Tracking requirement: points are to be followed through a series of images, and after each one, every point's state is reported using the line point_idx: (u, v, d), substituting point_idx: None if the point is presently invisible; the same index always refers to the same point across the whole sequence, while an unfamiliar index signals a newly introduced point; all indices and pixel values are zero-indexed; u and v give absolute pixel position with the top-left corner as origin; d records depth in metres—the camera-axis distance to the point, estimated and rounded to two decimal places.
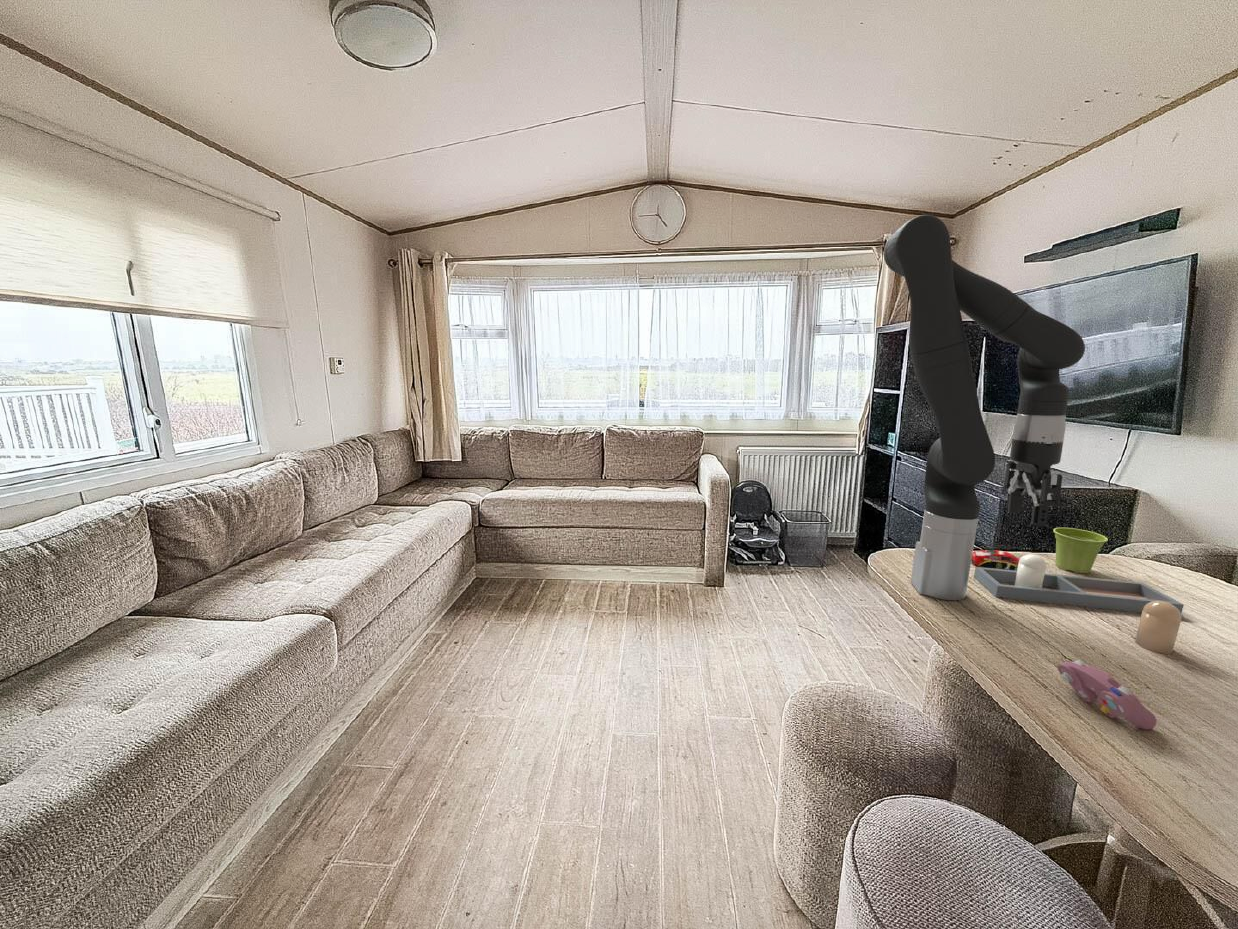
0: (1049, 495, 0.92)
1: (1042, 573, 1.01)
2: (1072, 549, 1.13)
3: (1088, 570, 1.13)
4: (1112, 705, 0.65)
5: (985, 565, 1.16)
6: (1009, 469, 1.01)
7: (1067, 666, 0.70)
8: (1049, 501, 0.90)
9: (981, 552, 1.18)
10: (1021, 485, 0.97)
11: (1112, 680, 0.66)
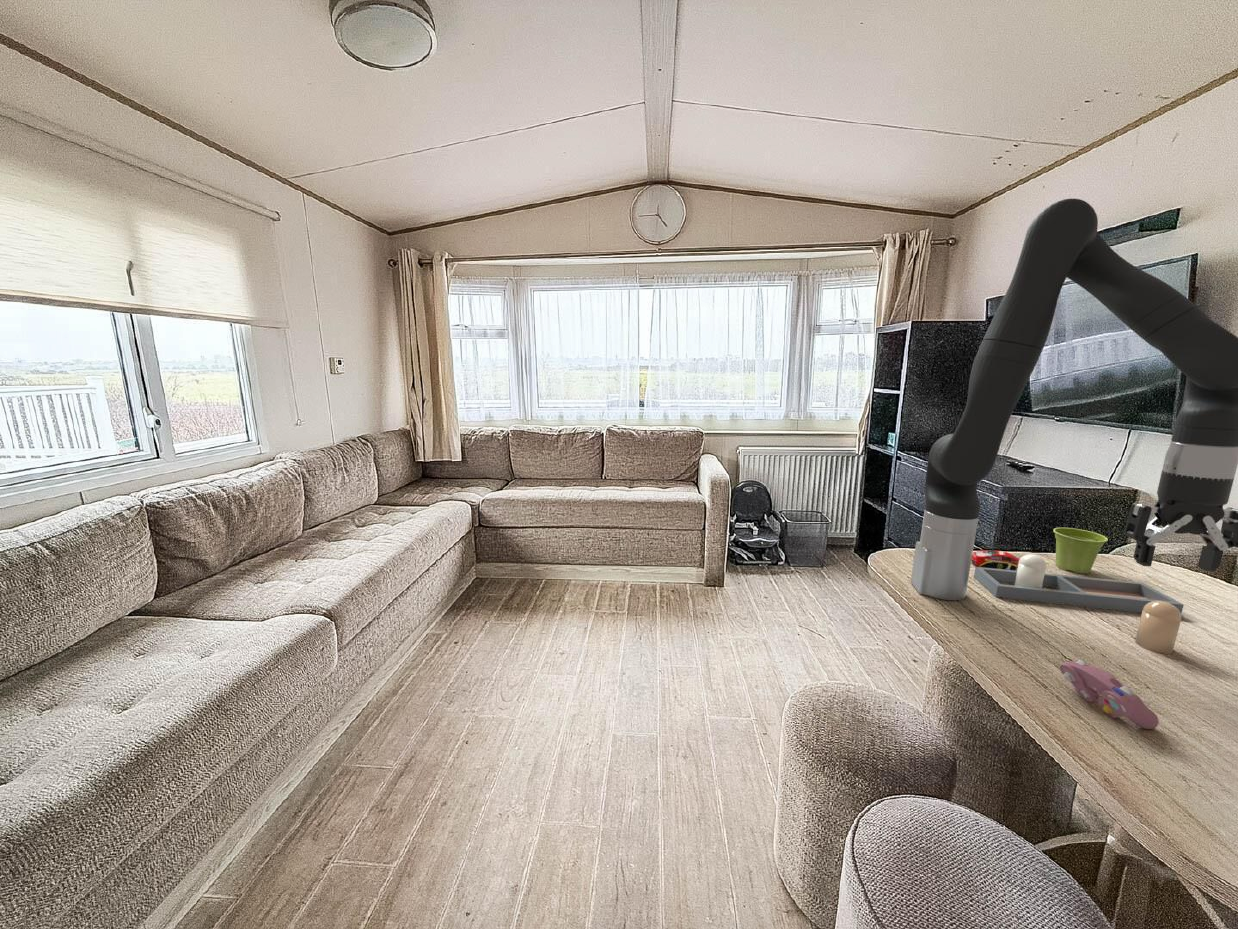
0: None
1: (1042, 573, 1.01)
2: (1072, 549, 1.13)
3: (1088, 570, 1.13)
4: (1114, 705, 0.65)
5: (986, 566, 1.15)
6: (1149, 516, 0.79)
7: (1069, 666, 0.70)
8: None
9: (981, 553, 1.17)
10: (1181, 531, 0.79)
11: (1114, 680, 0.66)
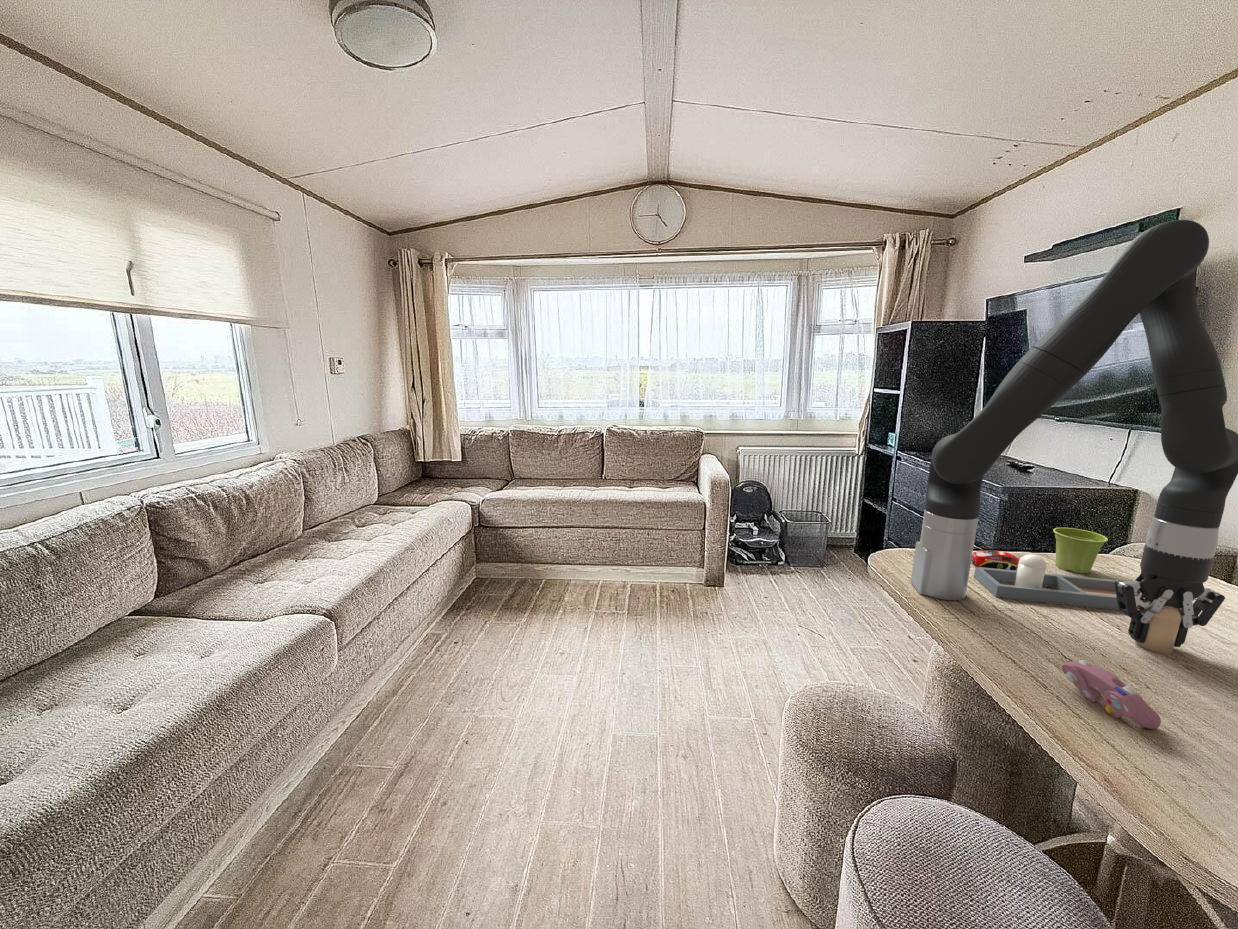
0: None
1: (1042, 573, 1.01)
2: (1072, 549, 1.13)
3: (1088, 570, 1.13)
4: (1117, 705, 0.65)
5: (986, 566, 1.15)
6: (1133, 594, 0.82)
7: (1071, 666, 0.70)
8: None
9: (982, 553, 1.17)
10: (1169, 603, 0.81)
11: (1116, 680, 0.66)
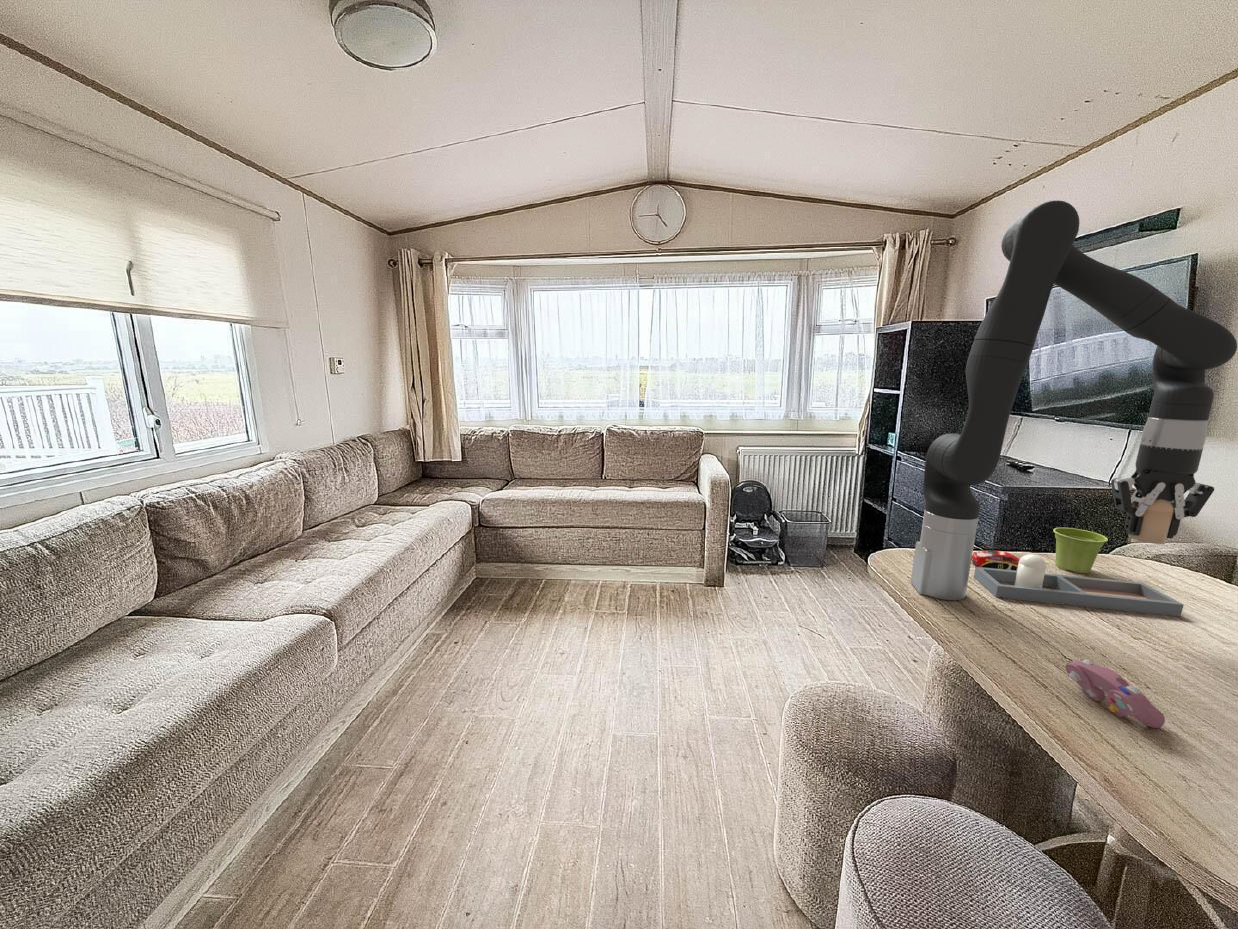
0: None
1: (1042, 573, 1.01)
2: (1072, 549, 1.13)
3: (1088, 570, 1.13)
4: (1121, 704, 0.65)
5: (987, 566, 1.15)
6: (1128, 489, 0.89)
7: (1075, 665, 0.70)
8: None
9: (982, 553, 1.17)
10: (1162, 497, 0.88)
11: (1120, 679, 0.66)
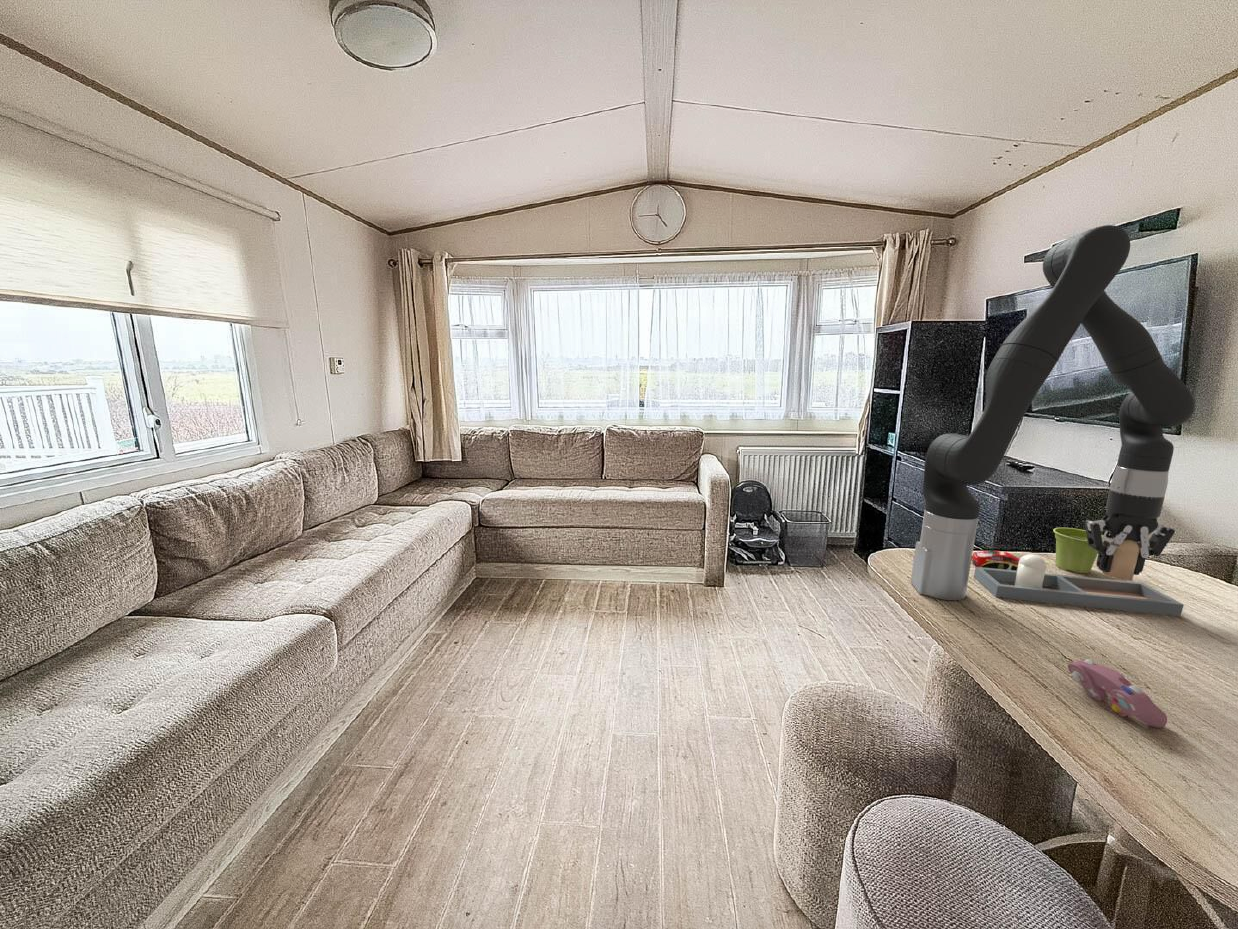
0: None
1: (1042, 573, 1.01)
2: (1072, 549, 1.13)
3: (1088, 570, 1.13)
4: (1124, 704, 0.65)
5: (987, 566, 1.15)
6: (1100, 530, 0.98)
7: (1077, 665, 0.71)
8: None
9: (982, 553, 1.17)
10: (1129, 538, 0.97)
11: (1123, 679, 0.66)
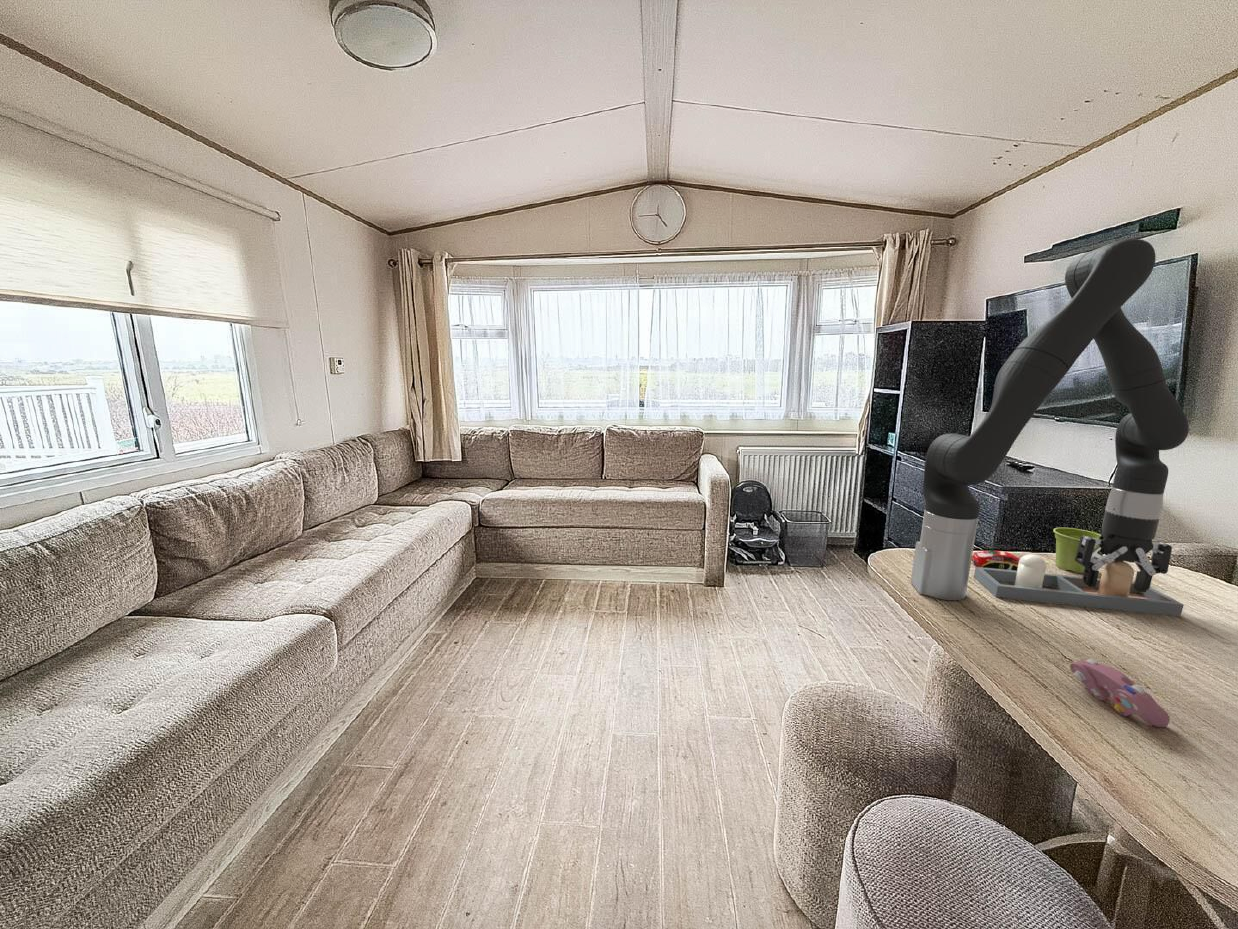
0: None
1: (1042, 573, 1.01)
2: (1072, 549, 1.13)
3: None
4: (1126, 703, 0.65)
5: (988, 566, 1.15)
6: (1093, 546, 0.98)
7: (1080, 664, 0.71)
8: None
9: (983, 553, 1.17)
10: (1119, 559, 0.98)
11: (1125, 678, 0.66)
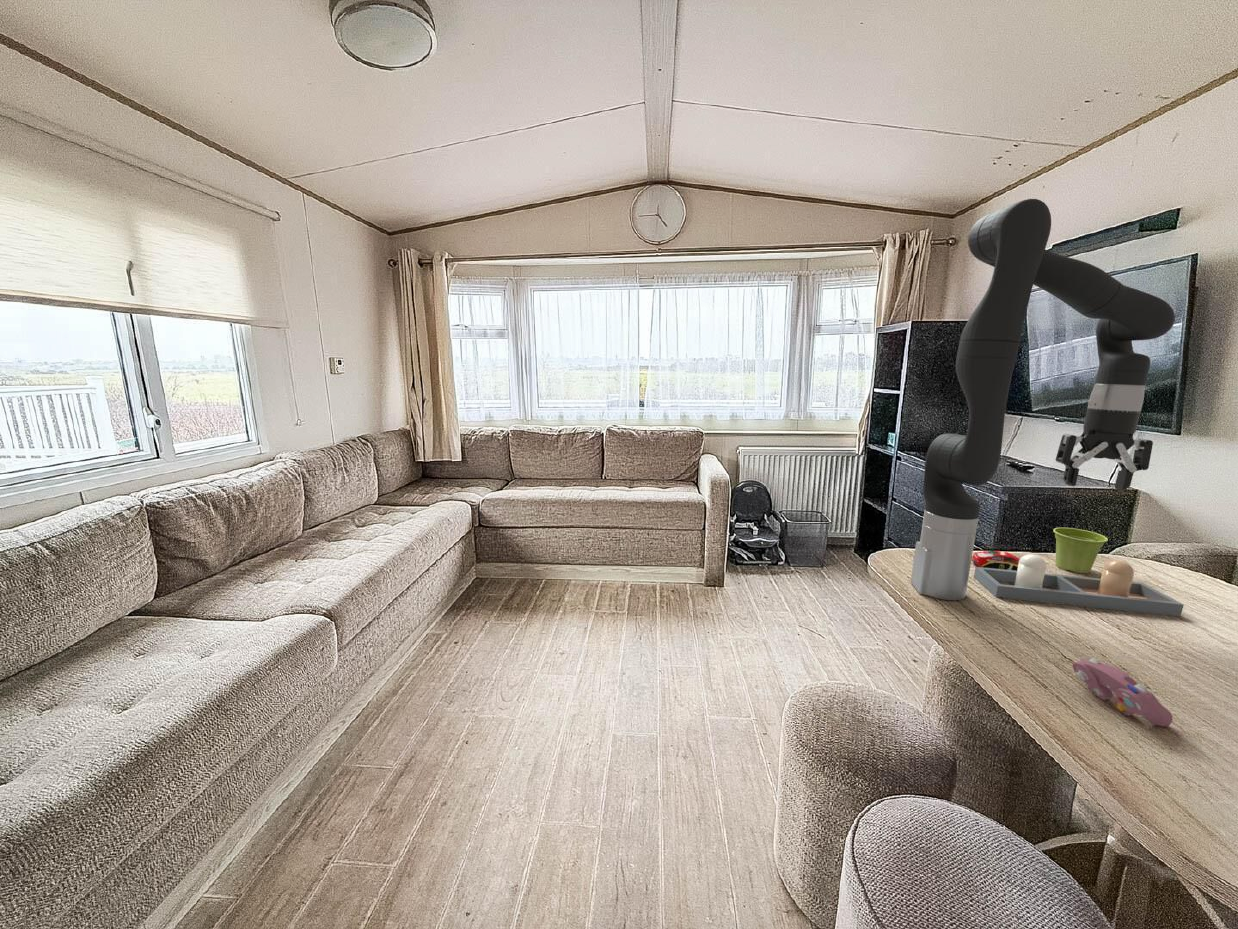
0: None
1: (1042, 573, 1.01)
2: (1072, 549, 1.13)
3: (1088, 570, 1.13)
4: (1129, 703, 0.65)
5: (988, 566, 1.15)
6: (1074, 443, 0.98)
7: (1082, 664, 0.71)
8: None
9: (983, 553, 1.17)
10: (1100, 456, 0.98)
11: (1128, 678, 0.66)
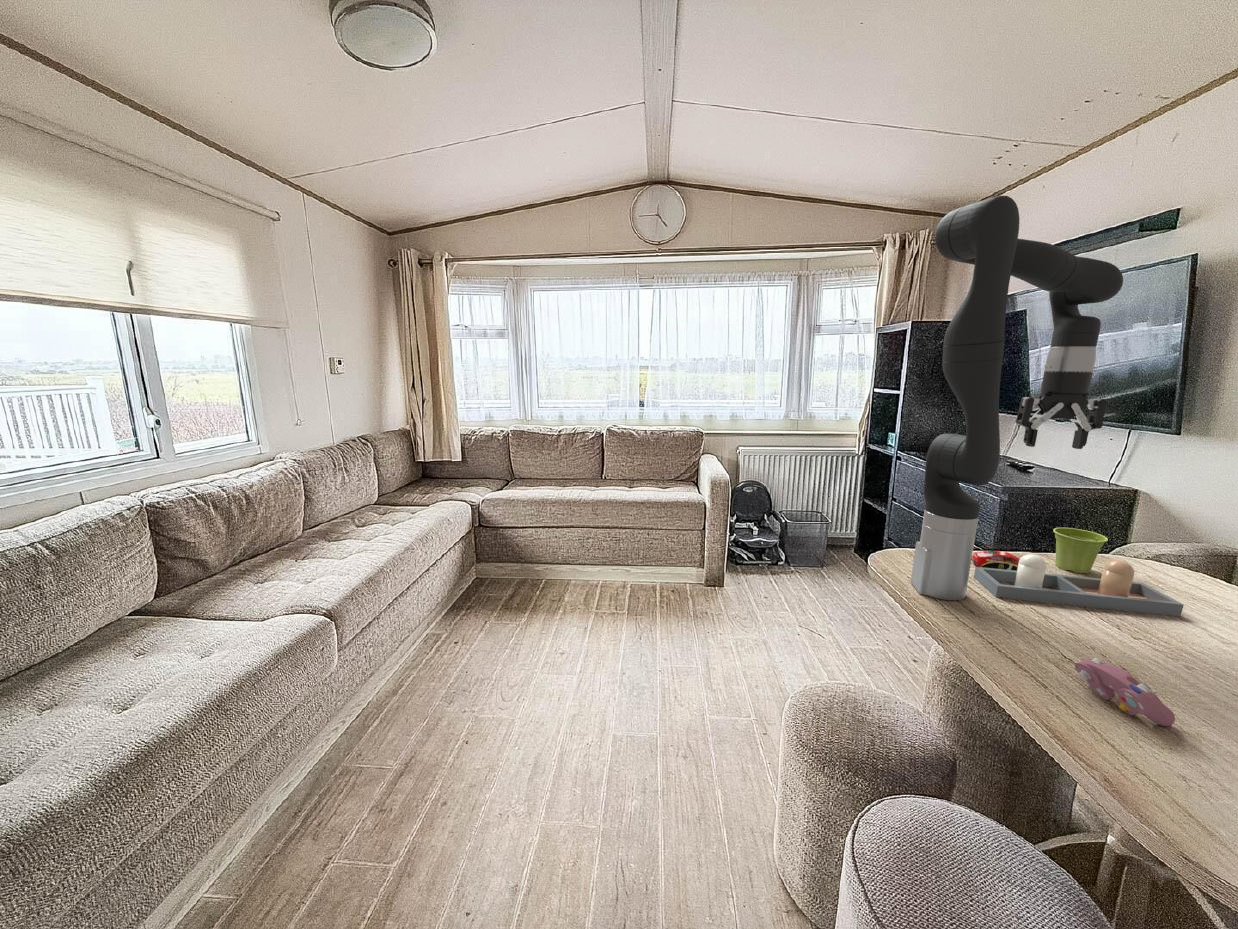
0: None
1: (1042, 573, 1.01)
2: (1072, 549, 1.13)
3: (1088, 570, 1.13)
4: (1132, 702, 0.65)
5: (987, 566, 1.15)
6: (1032, 405, 1.02)
7: (1085, 664, 0.71)
8: None
9: (983, 553, 1.17)
10: (1056, 417, 1.02)
11: (1131, 678, 0.66)
